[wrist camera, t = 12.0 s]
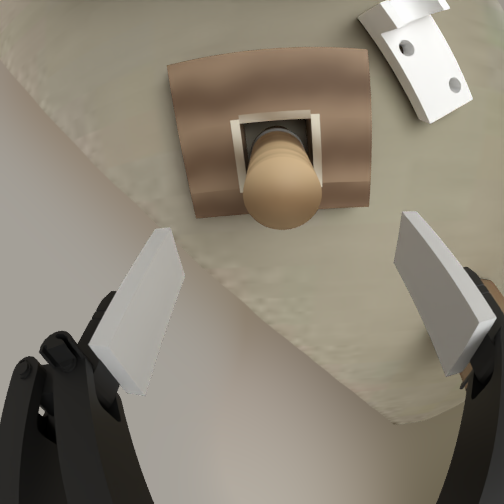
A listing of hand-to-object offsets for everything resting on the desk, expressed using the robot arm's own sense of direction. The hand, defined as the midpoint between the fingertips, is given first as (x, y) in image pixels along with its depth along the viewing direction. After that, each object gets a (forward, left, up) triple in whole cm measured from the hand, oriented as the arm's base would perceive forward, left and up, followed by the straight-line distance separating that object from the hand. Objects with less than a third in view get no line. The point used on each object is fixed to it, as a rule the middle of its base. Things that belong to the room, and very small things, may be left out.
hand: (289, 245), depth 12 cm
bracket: (-10, +16, -20) cm, 28 cm away
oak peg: (0, 0, -20) cm, 20 cm away
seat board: (-2, 0, -20) cm, 20 cm away
